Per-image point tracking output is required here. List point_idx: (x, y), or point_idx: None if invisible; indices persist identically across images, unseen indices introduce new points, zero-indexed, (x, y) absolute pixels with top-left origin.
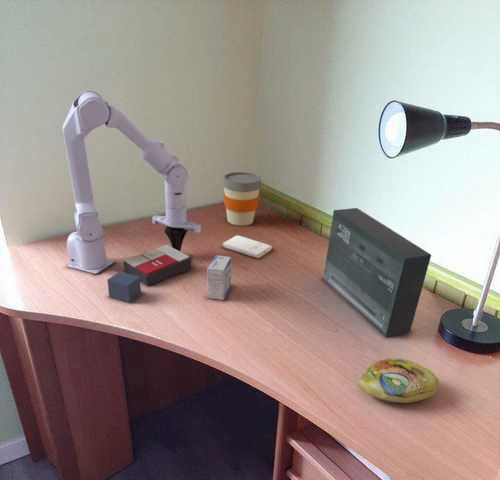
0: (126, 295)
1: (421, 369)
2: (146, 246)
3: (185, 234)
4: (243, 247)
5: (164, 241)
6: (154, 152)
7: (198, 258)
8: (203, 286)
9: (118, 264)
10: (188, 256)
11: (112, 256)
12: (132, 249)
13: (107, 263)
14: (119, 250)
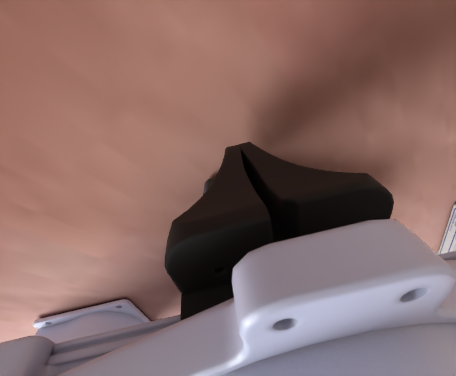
0: None
1: None
2: (40, 174)
3: (315, 170)
4: None
5: (4, 44)
6: None
7: (338, 95)
8: (416, 228)
9: (142, 292)
10: None
11: (76, 284)
12: (46, 227)
13: (128, 313)
14: (32, 257)
